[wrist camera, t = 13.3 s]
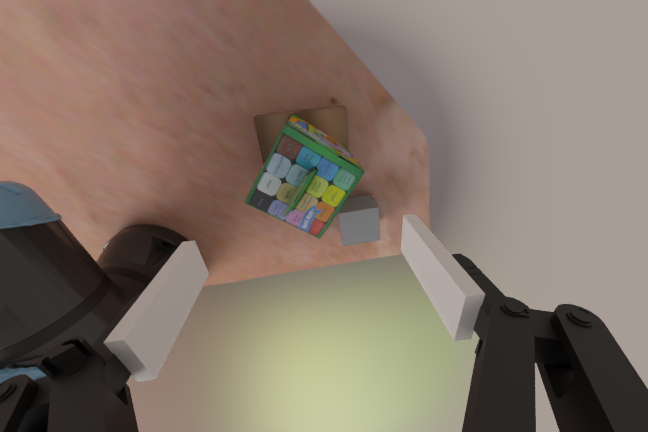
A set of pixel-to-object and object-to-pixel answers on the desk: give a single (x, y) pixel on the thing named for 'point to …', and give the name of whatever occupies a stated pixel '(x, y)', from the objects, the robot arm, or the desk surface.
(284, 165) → the chalk box
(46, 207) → the robot arm
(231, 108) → the desk surface
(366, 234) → the grey block
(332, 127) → the block
